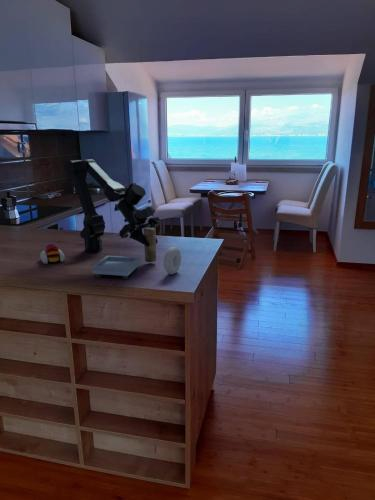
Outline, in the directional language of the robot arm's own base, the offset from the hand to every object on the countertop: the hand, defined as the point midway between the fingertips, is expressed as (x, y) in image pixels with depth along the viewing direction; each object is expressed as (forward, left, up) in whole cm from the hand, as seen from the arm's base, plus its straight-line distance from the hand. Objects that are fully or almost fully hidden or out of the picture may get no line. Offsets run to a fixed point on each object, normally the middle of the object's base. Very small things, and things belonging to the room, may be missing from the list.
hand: (152, 244), depth 147 cm
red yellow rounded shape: (-41, -3, -8) cm, 42 cm away
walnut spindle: (-1, +1, -7) cm, 7 cm away
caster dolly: (-10, -11, -8) cm, 17 cm away
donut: (+10, -8, -8) cm, 15 cm away
